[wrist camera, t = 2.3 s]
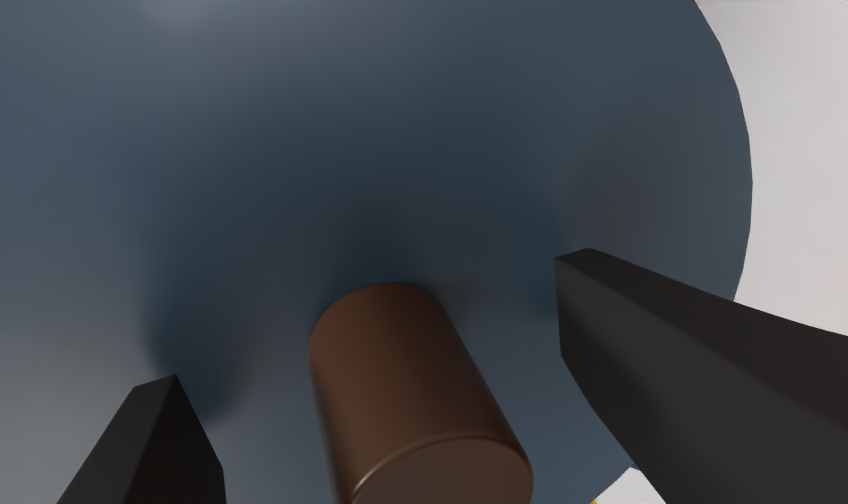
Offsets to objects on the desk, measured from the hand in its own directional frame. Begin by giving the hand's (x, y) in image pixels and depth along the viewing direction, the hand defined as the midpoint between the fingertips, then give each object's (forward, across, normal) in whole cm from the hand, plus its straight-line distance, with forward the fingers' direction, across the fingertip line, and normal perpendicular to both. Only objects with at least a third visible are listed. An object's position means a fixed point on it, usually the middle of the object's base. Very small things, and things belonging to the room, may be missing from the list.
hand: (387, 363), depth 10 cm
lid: (+1, 0, 0) cm, 1 cm away
